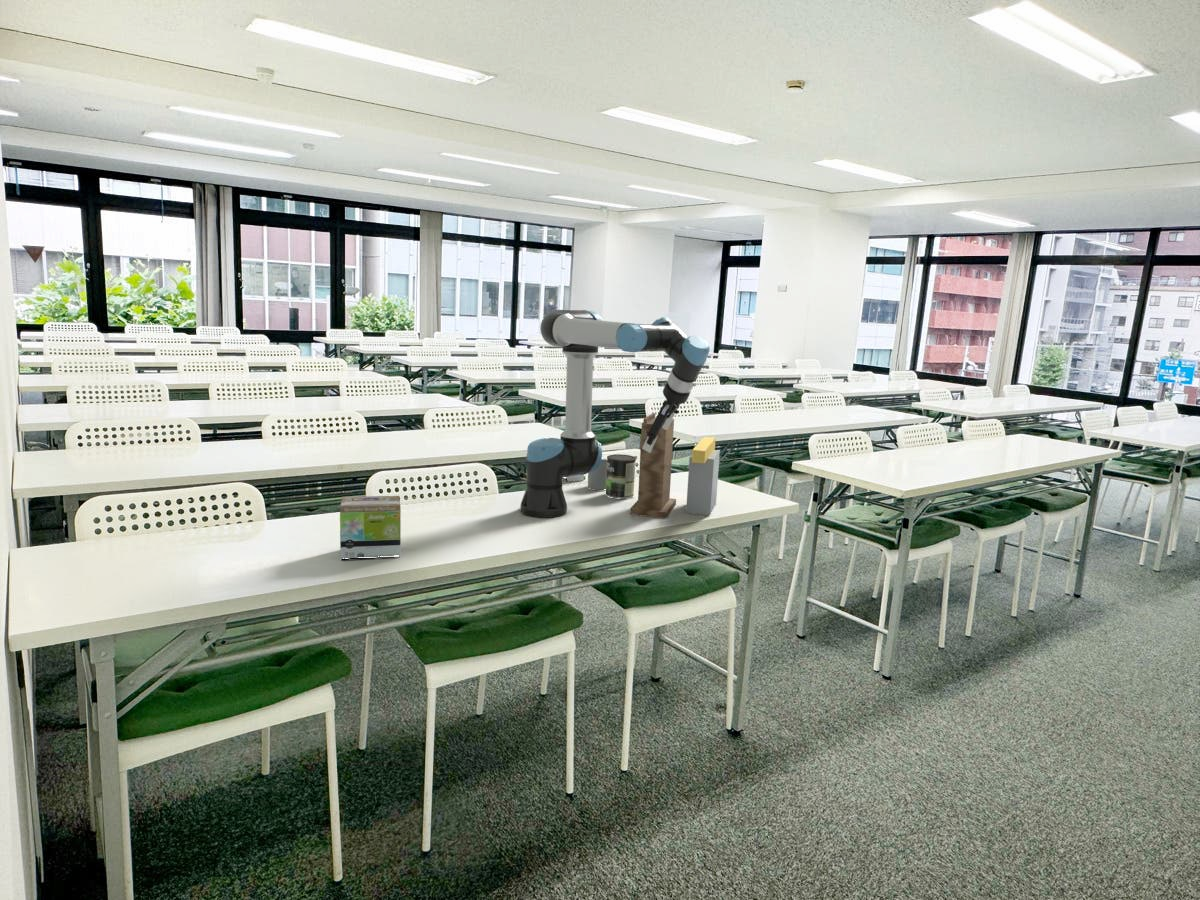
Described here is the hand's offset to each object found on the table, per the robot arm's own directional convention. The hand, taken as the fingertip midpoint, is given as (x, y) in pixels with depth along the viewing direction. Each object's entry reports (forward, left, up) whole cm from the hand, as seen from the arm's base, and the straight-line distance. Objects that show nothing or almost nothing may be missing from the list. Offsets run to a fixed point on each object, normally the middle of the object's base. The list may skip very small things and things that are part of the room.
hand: (655, 438), depth 227 cm
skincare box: (-42, +49, -27) cm, 70 cm away
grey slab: (+12, +26, -27) cm, 39 cm away
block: (+12, +23, -8) cm, 27 cm away
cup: (-28, +39, -27) cm, 55 cm away
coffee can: (-18, +31, -27) cm, 45 cm away
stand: (-3, +18, -27) cm, 33 cm away
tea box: (-64, -55, -27) cm, 89 cm away
